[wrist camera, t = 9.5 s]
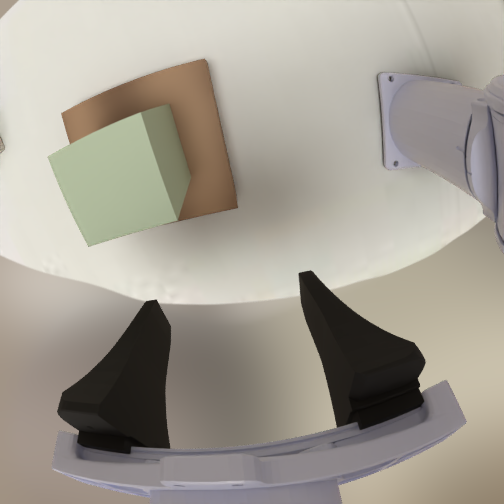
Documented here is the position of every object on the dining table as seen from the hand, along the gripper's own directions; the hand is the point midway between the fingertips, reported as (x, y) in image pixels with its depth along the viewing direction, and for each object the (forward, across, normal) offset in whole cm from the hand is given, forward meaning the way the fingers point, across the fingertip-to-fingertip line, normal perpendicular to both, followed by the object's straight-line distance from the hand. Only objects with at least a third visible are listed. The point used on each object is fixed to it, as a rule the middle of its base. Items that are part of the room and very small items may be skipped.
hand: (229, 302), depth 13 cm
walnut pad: (+10, +4, -7) cm, 13 cm away
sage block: (+7, +4, -7) cm, 11 cm away
